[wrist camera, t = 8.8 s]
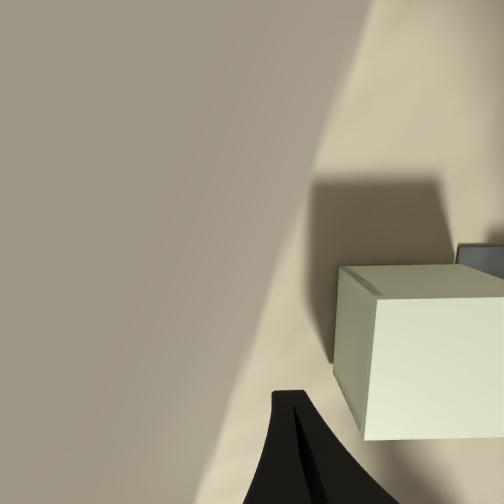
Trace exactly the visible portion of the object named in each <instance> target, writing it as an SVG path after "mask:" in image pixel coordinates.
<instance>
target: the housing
mask: <svg viewBox="0 0 504 504" xmlns="http://www.w3.org/2000/svg"><path fill="white" fill-rule="evenodd" d="M333 374H334V376H335V378H336V380H337V383H338V385H339V387H340V389H341V391H342V394H343V396H344V398H345V400H346V402H347V404H348V407H349V409H350V411H351V413H352V415H353V417H354V420H355V422H356V424H357V426H358V428H359V431H360V433H361V435H362V437H363V439H364V441H366V440H404V439H442V438H480V437H504V280H503V279H501V278H498V277H495V276H492V275H490V274H487V273H484V272H481V271H479V270H476V269H473V268H471V267H468V266H465V265H462V264H436V265H381V266H339V278H338V295H337V312H336V329H335V346H334V362H333Z"/></svg>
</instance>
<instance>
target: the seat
mask: <svg viewBox="0 0 504 504" xmlns="http://www.w3.org/2000/svg"><path fill="white" fill-rule="evenodd" d="M456 264H462V265H465V266H468V267H471V268H473V269H476V270H479V271H481V272H484V273H487V274H490V275H492V276H495V277H498V278H501V279H503V280H504V246H490V247H459V251H458V257H457V263H456Z"/></svg>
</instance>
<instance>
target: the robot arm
mask: <svg viewBox="0 0 504 504" xmlns="http://www.w3.org/2000/svg"><path fill="white" fill-rule="evenodd" d="M243 504H399V503H398V502H397V501H396V500H395V499H394V498H393V497H392V496H391V495H390V494H388V493H387V492H386V491H385V490H384V489H383V488H382V487H381V486H380V485H379V484H378V483H377V482H376V481H375V480H374V479H373V478H372V477H371V476H370V475H369V474H368V473H367V472H366V471H365V470H364V469H363V468H362V467H361V466H360V464H359V463H358V462H357V461H356V460H355V459H354V458H353V457H352V455H351V454H350V453H349V452H348V451H347V450H346V448H345V447H344V446H343V445H342V443H341V442H340V441H339V440H338V438H337V437H336V436H335V435H334V433H333V432H332V431H331V429H330V428H329V427H328V425H327V424H326V423H325V421H324V420H323V418H322V417H321V415H320V414H319V413H318V411H317V410H316V408H315V406H314V405H313V403H312V402H311V400H310V399H309V397H308V395H307V393H306V392H305V391H304V390H279V391H273V392H272V410H271V418H270V423H269V428H268V432H267V437H266V440H265V444H264V447H263V451H262V454H261V458H260V461H259V464H258V467H257V469H256V472H255V475H254V478H253V480H252V483H251V485H250V488H249V490H248V492H247V495H246V497H245V499H244V502H243Z"/></svg>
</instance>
